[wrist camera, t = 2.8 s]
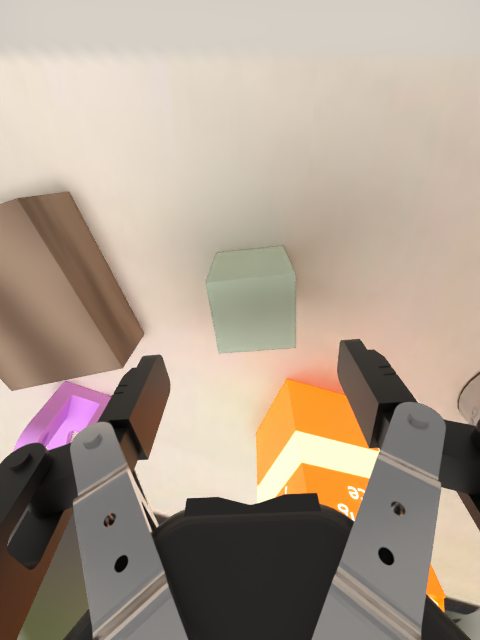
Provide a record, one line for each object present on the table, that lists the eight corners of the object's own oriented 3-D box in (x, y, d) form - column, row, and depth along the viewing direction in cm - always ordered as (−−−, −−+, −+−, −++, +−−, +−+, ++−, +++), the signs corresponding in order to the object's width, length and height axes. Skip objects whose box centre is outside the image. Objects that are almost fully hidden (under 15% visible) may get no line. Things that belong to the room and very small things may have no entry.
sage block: (283, 245, 20) (295, 273, 15) (284, 305, 22) (295, 347, 17) (216, 252, 20) (205, 282, 15) (225, 310, 23) (218, 353, 17)
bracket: (65, 380, 27) (14, 440, 21) (119, 397, 28) (85, 460, 22) (52, 450, 33) (9, 512, 27) (97, 462, 34) (65, 525, 28)
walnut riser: (71, 191, 19) (16, 198, 14) (145, 332, 24) (122, 368, 20) (-44, 229, 20) (-124, 246, 16) (51, 353, 26) (11, 390, 21)
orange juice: (355, 397, 27) (546, 805, 10) (316, 448, 31) (400, 795, 14) (284, 377, 26) (356, 795, 9) (254, 432, 30) (261, 788, 13)
